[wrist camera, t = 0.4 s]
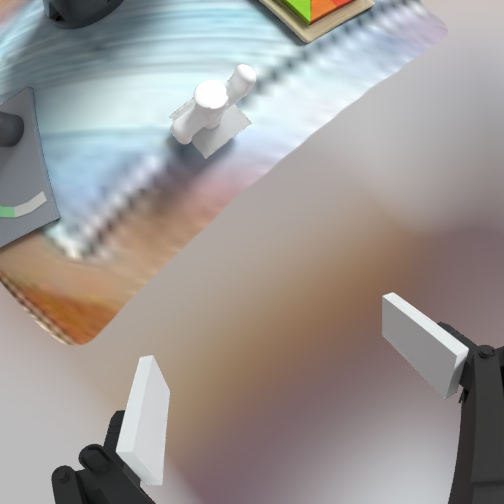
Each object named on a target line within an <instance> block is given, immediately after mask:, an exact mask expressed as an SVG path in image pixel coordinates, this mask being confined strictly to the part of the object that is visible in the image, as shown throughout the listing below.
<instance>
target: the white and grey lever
mask: <svg viewBox="0 0 504 504" xmlns="http://www.w3.org/2000/svg"><path fill="white" fill-rule="evenodd" d="M23 131H24V122H23V119H22V118H21V117H20V116H18V115H14V114H10V113H6V112H2V111H0V147H13V146H15V145H16V144H17V143H18V142H19V141H20V139H21V137H22V135H23Z"/></svg>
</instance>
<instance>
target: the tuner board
mask: <svg viewBox="0 0 504 504" xmlns="http://www.w3.org/2000/svg"><path fill="white" fill-rule="evenodd" d="M0 111H2V112H6V113H10V114H14V115H18V116H20V117H21V118H22V119H23V122H24V131H23V135H22V137H21V139H20V141H19V142H18V143H17V144H16V145H15V146H13V147H0V248H1V247H3V246H5V245H7V244H8V243H10V242H12V241H14V240H16V239H18V238H20V237H22V236H24V235H26V234H27V233H29V232H31V231H33V230H35V229H37V228H40V227H42V226H44V225H46V224H48V223H50V222H52V221H54V220H56V219H58V218H60V215H59V212H58V208H57V205H56V202H55V198H54V195H53V191H52V188H51V184H50V180H49V176H48V172H47V168H46V164H45V160H44V155H43V151H42V146H41V141H40V136H39V130H38V124H37V118H36V112H35V105H34V97H33V88H30V87H26V88H25V89H23V90H22V91H20V92H19V93H17V94H16V95H14V96H13V97H12V98H10V99H9V100H7V101H6V102H5V103H3V104H2V105H1V106H0Z"/></svg>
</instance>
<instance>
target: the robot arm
mask: <svg viewBox="0 0 504 504" xmlns="http://www.w3.org/2000/svg"><path fill="white" fill-rule="evenodd" d="M122 1H123V0H43V4H44V8H45V12H46V15H47V17H48V19H49V20H50V21H51V22H52V23H53V24H55V25H56V26H57V27H60V28H63V29H75V28H80V27H83V26H86V25H89V24H91V23H94V22H96V21H98V20H99V19H101V18H103V17H104V16H106V15H107V14H109V13H110V12H111V11H113V10H114V9H115V8H116V7H117V6H118V5H119V4H120V3H121V2H122ZM382 299H383V302H382V313H383V314H382V336H384V337H385V338H386V339H387V340H388V341H389V342H390V343H391V344H392V345H393V346H394V347H395V349H396V350H397V351H398V352H399V353H400V354H401V355H402V356H403V357H404V358H405V359H406V360H407V361H408V362H409V363H410V364H411V365H412V366H413V367H414V368H415V369H416V370H417V371H418V372H419V373H420V374H421V375H422V376H423V377H424V378H425V379H426V380H427V381H428V382H429V383H430V384H431V385H432V386H433V387H434V388H435V389H436V391H437V392H438V393H439V394H440V395H441V396H442V397H443V398H444V399H447V398H449V397H450V396H452V395H453V394H455V393H456V392H457V389H458V386H459V384H460V385H462V387H463V391H462V394H461V397H460V400H459V403H461V400H462V407H461V424H460V436H459V444H458V452H457V460H456V466H455V472H454V478H453V483H452V488H451V493H450V497H449V501H448V504H504V346H503V347H500V348H497V349H494V348H493V347H491V346H489V345H481V346H477V345H476V344H474V343H473V342H472V341H470V340H469V339H468V338H466V337H465V336H464V335H462V334H460V333H459V332H458V331H457V330H455V329H454V328H453V327H451V326H450V325H448V324H445V323H442V322H440V323H437V324H436V323H435V322H433V321H432V320H431V319H429V318H428V317H426V316H425V315H424V314H422V313H421V312H420V311H418V310H417V309H416V308H414V307H413V306H411V305H410V304H409V303H407V302H406V301H405V300H403V299H402V298H400V297H399V296H397V295H396V294H395V293H390V294H387V295H384V296H382ZM169 396H170V391H169V388H168V386H167V384H166V382H165V380H164V378H163V376H162V374H161V372H160V370H159V367H158V365H157V363H156V361H155V359H154V356H153V355H151V356H146V357H140V360H139V364H138V367H137V370H136V374H135V377H134V381H133V385H132V388H131V392H130V395H129V399H128V403H127V407H126V410H121V411H116V413H115V414H114V415H113V417H112V418H111V421H110V424H109V428H108V431H107V435H106V438H105V442H104V446H103V447H102V446H101V445H98V444H91V445H88V446H86V447H85V448H84V449H82V451H81V452H80V454H79V462H80V464H81V465H82V466H83V467H84V468H85V469H83V470H79V471H74V470H73V469H72V468H71V467H70V466H66V465H65V466H60V467H58V468H57V469H56V470H55V471H54V472H53V474H52V479H51V480H52V487H53V492H54V498H55V503H56V504H156V503H155V502H154V501H153V500H152V499H151V498H150V497H149V496H148V495H147V494H146V493H145V492H144V491H143V489H142V488H141V487H140V481H143V483H144V484H145V485H146V486H153V485H154V486H155V485H162V482H163V465H164V451H165V438H166V427H167V416H168V406H169Z"/></svg>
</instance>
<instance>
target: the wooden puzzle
mask: <svg viewBox="0 0 504 504" xmlns="http://www.w3.org/2000/svg"><path fill="white" fill-rule="evenodd" d="M259 1H260V2H261V3H262V4H264V5H265V6H266V7H267V8H268V9H269V10H270V11H272V12H273V13H274V14H275V15H276V16H277V17H278V18H279V19H280V20H281V21H283V22H284V23H285V24H286V25H287V26H288V27H289V28H290V29H291V30H292V31H293V32H294V33H295V34H296V35H297V36H298V37H299V38H300V39H301V40H302V41H303V42H305V43H310V42H312V41H314V40H315V39H317V38H319V37H320V36H322V35H323V34H325V33H327V32H328V31H330V30H331V29H333V28H335V27H336V26H338V25H340V24H341V23H343V22H345V21H347V20H348V19H350V18H352V17H354V16H355V15H357V14H359V13H361V12H363V11H365V10H366V9H368V8H370V7H372V6H374V5H375V3H374V2H373V1H372V0H259Z"/></svg>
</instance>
